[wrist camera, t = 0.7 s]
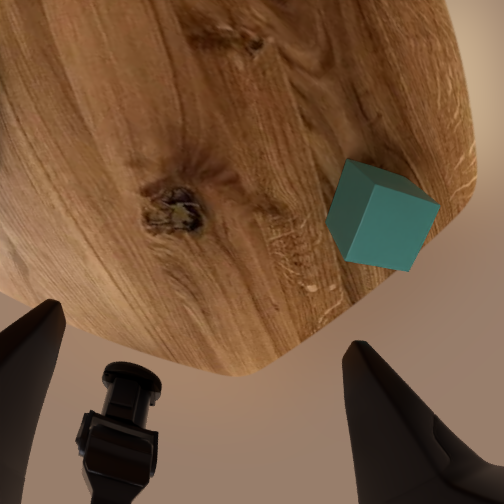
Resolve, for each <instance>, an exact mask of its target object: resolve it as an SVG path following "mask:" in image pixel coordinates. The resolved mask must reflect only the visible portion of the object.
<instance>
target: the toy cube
mask: <svg viewBox="0 0 504 504" xmlns="http://www.w3.org/2000/svg"><path fill="white" fill-rule="evenodd" d="M439 208H440V204H438V203H437V202H436V201H435V200H434V199H432V198H431V197H430V196H429V195H427V194H426V193H425V192H424V191H422V190H421V189H420V188H419V187H417V186H416V185H415V184H414V183H412V182H411V181H410V180H408V179H407V178H406V177H404V176H401V175H398V174H395V173H392V172H389V171H386V170H383V169H380V168H377V167H374V166H371V165H367V164H364V163H361V162H357V161H354V160H351V159H346V162H345V165H344V169H343V172H342V175H341V178H340V181H339V184H338V187H337V190H336V193H335V196H334V199H333V201H332V204H331V207H330V210H329V213H328V216H327V219H326V222H325V223H326V225H327V227H328V229H329V231H330V233H331V234H332V236H333V238H334V240H335V242H336V244H337V246H338V248H339V250H340V252H341V254H342V256H343V258H344V260H345V261H348V262H354V263H360V264H366V265H372V266H378V267H383V268H389V269H395V270H401V271H407V272H409V270H410V268H411V266H412V264H413V262H414V261H415V259H416V257H417V255H418V253H419V251H420V249H421V247H422V245H423V243H424V241H425V239H426V237H427V235H428V232H429V230H430V228H431V226H432V224H433V222H434V219H435V217H436V215H437V213H438V210H439Z"/></svg>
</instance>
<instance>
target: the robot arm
mask: <svg viewBox="0 0 504 504" xmlns="http://www.w3.org/2000/svg"><path fill="white" fill-rule="evenodd" d="M65 327H66V319H65V316H64V312H63V309H62V305H61V303H60V302H59V301H57V300H53V299H47V300H45V301H44V302H42V303H41V304H39V305H38V306H37V307H35V308H34V309H32V310H31V311H29V312H28V313H27V314H25V315H24V316H23V317H21V318H19V319H18V320H17V321H15V322H14V323H12V324H11V325H10V326H8V327H7V328H6V329H4V330H3V331H1V332H0V504H21V499H22V493H23V486H24V481H25V477H24V476H25V474H26V469H27V464H28V460H29V455H30V451H31V446H32V442H33V438H34V434H35V430H36V427H37V423H38V419H39V416H40V412H41V409H42V406H43V402H44V399H45V396H46V393H47V390H48V387H49V384H50V380H51V378H52V375H53V372H54V368H55V365H56V361H57V357H58V353H59V349H60V345H61V341H62V338H63V334H64V331H65ZM342 370H343V384H344V400H345V409H346V415H347V420H348V427H349V434H350V440H351V447H352V453H353V461H354V469H355V476H356V484H357V493H358V502H359V504H504V467H503V466H497V465H493V464H490V463H488V462H486V461H484V460H483V459H482V458H480V457H479V456H478V455H477V454H476V453H475V452H474V451H473V450H472V449H470V448H469V447H468V446H467V445H466V444H465V443H464V442H463V441H461V440H460V439H459V438H458V437H457V436H456V435H455V434H454V433H453V432H452V431H451V430H450V429H449V428H448V427H447V426H446V425H445V424H444V423H443V422H442V421H441V420H440V419H439V418H438V416H437V415H435V414H434V412H433V411H432V410H431V409H430V408H429V407H428V406H427V405H426V404H425V403H424V402H423V401H422V400H421V399H420V397H419V396H418V395H417V394H416V393H415V392H414V391H413V390H412V389H411V388H410V387H409V386H408V385H407V384H406V383H405V381H403V380H402V378H401V377H400V376H399V375H398V374H397V373H396V372H395V371H394V370H393V369H392V368H391V367H390V366H389V365H388V363H387V362H385V360H384V359H383V358H382V357H381V356H380V355H379V354H378V353H377V352H376V351H375V350H374V349H373V348H372V347H371V346H370V345H369V344H368V343H367V342H366V341H358V340H355V341H353V342H352V343H351V345H350V346H349V348H348V350H347V351H346V353H345V354H344V356H343V359H342ZM104 377H105V381H106V384H107V388H108V391H107V395H106V398H105V401H104V405H103V409H102V413H101V414H99V413H95V412H94V411H93V410H90V412H89V413H84V416H83V420H82V423H81V426H80V429H79V431H78V434H77V437H76V440H75V442H76V444H77V445H78V450H79V456H82V457H84V459H83V468H82V475H83V477H84V480H85V482H86V485H87V487H88V490H89V492H90V494H91V496H92V498H91V504H131V503H132V501H133V500H134V499H135V498H136V497H137V496H138V495H139V494H140V493H141V492H142V491H143V489H144V488H145V487H146V486H147V485H148V483H149V479H150V477H153V476H154V473H155V469H156V464H157V452H158V432H157V431H151V430H147V429H145V428H146V422H147V416H148V410H149V406H155V391H154V381H153V380H150V379H145V378H140V377H135V376H130V375H126V374H121V373H117V372H112V371H108V370H105V371H104Z"/></svg>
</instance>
